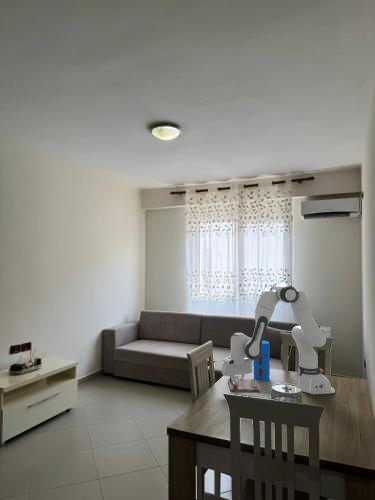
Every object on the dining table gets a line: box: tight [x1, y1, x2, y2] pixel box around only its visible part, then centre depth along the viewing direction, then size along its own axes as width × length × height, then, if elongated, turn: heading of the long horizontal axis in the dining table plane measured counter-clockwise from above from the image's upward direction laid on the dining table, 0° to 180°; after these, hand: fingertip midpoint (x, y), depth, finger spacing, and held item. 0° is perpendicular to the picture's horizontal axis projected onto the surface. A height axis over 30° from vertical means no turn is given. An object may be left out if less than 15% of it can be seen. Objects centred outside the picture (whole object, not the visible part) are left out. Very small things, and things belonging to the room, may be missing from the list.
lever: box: [229, 375, 240, 387], centre depth 224 cm, size 18×4×7 cm, turn 1°
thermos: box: [253, 340, 271, 382], centre depth 240 cm, size 11×11×25 cm
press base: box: [227, 378, 261, 393], centre depth 224 cm, size 18×19×2 cm
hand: (237, 381), depth 217 cm, fingers open, 4 cm apart
